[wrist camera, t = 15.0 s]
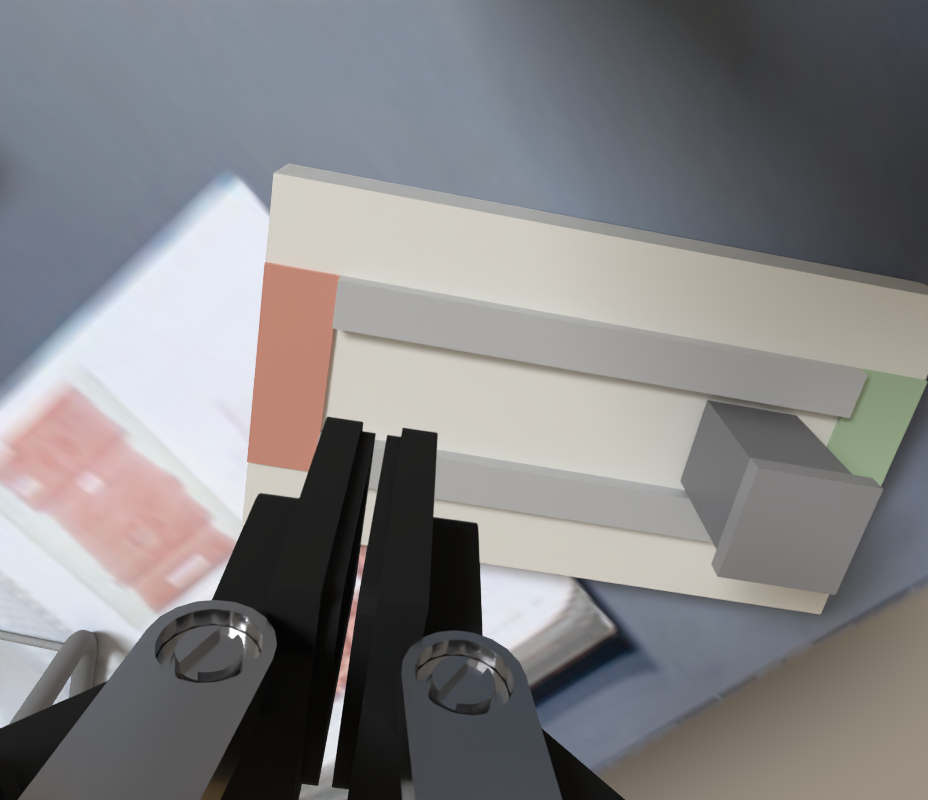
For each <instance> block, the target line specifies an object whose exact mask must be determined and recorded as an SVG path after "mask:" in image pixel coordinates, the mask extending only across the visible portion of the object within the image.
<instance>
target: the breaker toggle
mask: <svg viewBox="0 0 928 800" xmlns="http://www.w3.org/2000/svg"><path fill="white" fill-rule="evenodd" d="M680 481H681V483H682V485H683V487H684V489H685V491H686V493H687V495H688V497H689V499H690V500H691V502H692V504H693V506H694V508H695V510H696V512H697V514H698V516H699V517H700V519H701V521H702V523H703V525H704V527H705V529H706V531H707V533H708V535H709V536H710V538H711V540H712V542H713V544H714V546H715V548H716V552H715V555H714V558H713V561H712V563H711V565H712V567H713V569H714V571H715V573H716V575H717V577H722V578H728V579H735V580H741V581H748V582H754V583H761V584H767V585H774V586H780V587H787V588H793V589H799V590H806V591H812V592H819V593H825V594H832V595H836V593H837V591H838V589H839V587H840V584H841V582H842V580H843V578H844V575H845V573H846V571H847V569H848V567H849V564H850V562H851V560H852V558H853V556H854V553H855V551H856V549H857V547H858V544H859V542H860V540H861V538H862V536H863V533H864V531H865V529H866V527H867V524H868V522H869V520H870V518H871V516H872V513H873V511H874V509H875V507H876V504H877V502H878V500H879V498H880V496H881V493H882V491H883V488H882V487H881V486H880V485H879V484H878V483H877V482H876V481H875V480H874V479H873V478H870V477H864V476H858V475H853V474H852V473H851V472H850V471H849V470H848V469H847V468H846V467H845V466H844V465H843V464H842V463H841V462H840V461H839V460H838V459H837V458H836V456H835V455H834V454H833V453H832V452H831V451H830V450H829V449H828V448H827V447H826V446H825V445H824V444H823V443H822V442H821V441H820V440H819V439H818V438H817V437H816V435H815V434H814V433H813V432H812V431H811V430H810V429H809V428H808V427H807V426H806V425H805V424H804V423H803V422H802V421H801V420H800V419H799V418H798V417H797V415H792V414H786V413H780V412H774V411H768V410H763V409H757V408H751V407H745V406H739V405H734V404H728V403H722V402H716V401H710V400H707V402H706V405H705V408H704V411H703V414H702V417H701V420H700V423H699V426H698V429H697V432H696V435H695V438H694V441H693V444H692V447H691V450H690V453H689V456H688V459H687V462H686V465H685V468H684V471H683V474H682V477H681V480H680Z"/></svg>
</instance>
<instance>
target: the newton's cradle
mask: <svg viewBox="0 0 928 800" xmlns="http://www.w3.org/2000/svg"><path fill="white" fill-rule="evenodd" d="M0 639H1V640H6V641H11V642H16V643H21V644H26V645H30V646H35V647H40V648H45V649H50V650H55V651H58V653H57V654H56V656H55V657H54V659H53V660H52V662H51V663H50V665H49V666H48V668H47V669H46V671H45V672H44V674H43V675H42V677H41V678H40V680H39V681H38V683H37V684H36V686H35V687H34V689H33V690H32V691H31V693H30V694H29V696H28V697H27V699H26V700H25V702H24V703H23V705H22V706H21V708H20V709H19V711H18V712H17V714H16V715H15V717H14V718H13V720H12V721H11V723H10V724H12V723H14V722H16V721H18V720H21V719H23V718H25V717H28V716H30V715H32V714H34V713H37V712H39V711H41V710H43V709H46V708H48V707H50V706H52V704H53V703H54V701H55V700H56V698H57V696H58V695H59V693H60V692H61V690H62V688H63V687H64V685H65V684H66V682H67V680H68V679H69V677H70V676H71V674H72V676H71V685H70V694H69V698H71V697H73V696H75V695H77V694H80V693H82V692H84V691H86V690H89V689H91V688H93V681H94V673H95V664H96V656H97V641H96V637H95V635H94V634H93V633H92V632H89V631H86V630H80V631H77V632H75V633H74V634H72V635H71V636H70V637H69V638H68V639H67V640H66V642H65V643H64V644H60V643H56V642H51V641H46V640H41V639H36V638H31V637H26V636H21V635H17V634H12V633H7V632H2V631H0Z"/></svg>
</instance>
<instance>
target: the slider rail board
mask: <svg viewBox="0 0 928 800" xmlns="http://www.w3.org/2000/svg"><path fill="white" fill-rule="evenodd" d="M927 375H928V286H927V285H925V284H923V283H920V282H915V281H910V280H905V279H899V278H894V277H889V276H883V275H878V274H873V273H867V272H862V271H857V270H852V269H846V268H841V267H836V266H830V265H825V264H820V263H814V262H809V261H804V260H799V259H793V258H788V257H783V256H777V255H772V254H767V253H761V252H756V251H751V250H746V249H740V248H735V247H730V246H724V245H719V244H714V243H709V242H703V241H698V240H693V239H687V238H682V237H677V236H671V235H666V234H661V233H656V232H650V231H645V230H640V229H634V228H629V227H624V226H618V225H613V224H608V223H603V222H597V221H592V220H587V219H581V218H576V217H571V216H566V215H560V214H555V213H550V212H544V211H539V210H534V209H528V208H523V207H518V206H513V205H507V204H502V203H497V202H491V201H486V200H481V199H475V198H470V197H465V196H460V195H454V194H449V193H444V192H438V191H433V190H428V189H422V188H417V187H412V186H407V185H401V184H396V183H391V182H385V181H380V180H375V179H370V178H364V177H359V176H354V175H348V174H343V173H338V172H332V171H327V170H322V169H317V168H311V167H306V166H301V165H295V164H290V163H289V164H287V165H286V166H284V167H282V168H281V169H279V170H278V171H276V172H274V176H273V187H272V198H271V209H270V221H269V232H268V243H267V255H266V262H265V266H264V277H263V288H262V300H261V311H260V322H259V334H258V345H257V356H256V368H255V379H254V390H253V402H252V413H251V424H250V436H249V447H248V458H247V462H248V469H247V480H246V491H245V502H244V514H243V525H242V526H243V527H244V525H245V522H246V520H247V518H248V515H249V513H250V511H251V508H252V506H253V504H254V501H255V499H256V497H257V496H258V494H260V493H264V494H272V495H279V496H286V497H293V498H300V495H301V492H302V489H303V486H304V483H305V480H306V477H307V474H308V471H309V468H310V465H311V462H312V459H313V456H314V453H315V450H316V447H317V444H318V442H319V439H320V436H321V433H322V430H323V427H324V424H325V421H326V418H327V417H334V418H340V419H347V420H354V421H361V422H363V431H364V432H371V433H376V436H375V444H374V452H373V459H372V466H371V474H370V481H369V488H368V495H367V503H366V510H365V517H364V525H363V532H362V539H361V545H368V540H369V535H370V529H371V523H372V518H373V512H374V506H375V501H376V495H377V489H378V484H379V478H380V472H381V467H382V461H383V455H384V450H385V444H386V438H387V435H392V436H399V437H401V434H402V428H409V429H415V430H422V431H429V432H436V433H438V439H437V458H436V477H435V496H434V515H433V517H438V518H445V519H452V520H459V521H467V522H474V523H477V524H478V530H479V556H480V563H486V564H492V565H499V566H505V567H512V568H519V569H525V570H532V571H538V572H545V573H551V574H558V575H564V576H571V577H578V578H584V579H591V580H597V581H604V582H610V583H617V584H624V585H630V586H637V587H643V588H650V589H656V590H663V591H669V592H676V593H683V594H689V595H696V596H702V597H709V598H715V599H722V600H729V601H735V602H742V603H748V604H755V605H761V606H768V607H774V608H781V609H788V610H794V611H801V612H807V613H814V614H820V615H821V612H822V610H823V608H824V606H825V603H826V601H827V599H828V597H829V594H825V593H819V592H812V591H806V590H799V589H793V588H787V587H780V586H774V585H767V584H761V583H754V582H748V581H741V580H735V579H728V578H722V577H717V575H716V573H715V571H714V569H713V567H712V565H711V563H712V561H713V558H714V555H715V552H716V548H715V546H714V544H713V542H712V540H711V538H710V536H709V535H708V533H707V531H706V529H705V527H704V525H703V523H702V521H701V519H700V517H699V516H698V514H697V512H696V510H695V508H694V506H693V504H692V502H691V500H690V499H689V497H688V495H687V493H686V491H685V489H684V487H683V485H682V483H681V481H680V480H681V477H682V474H683V471H684V468H685V465H686V462H687V459H688V456H689V453H690V450H691V447H692V444H693V441H694V438H695V435H696V432H697V429H698V426H699V423H700V420H701V417H702V414H703V411H704V408H705V405H706V402H707V400H710V401H716V402H722V403H728V404H734V405H739V406H745V407H751V408H757V409H763V410H768V411H774V412H780V413H786V414H792V415H797V417H798V418H799V419H800V420H801V421H802V422H803V423H804V424H805V425H806V426H807V427H808V428H809V429H810V430H811V431H812V432H813V433H814V434H815V435H816V437H817V438H818V439H819V440H820V441H821V442H822V443H823V444H824V445H825V446H826V447H827V448H828V449H829V450H830V451H831V452H832V453H833V454H834V455H835V456H836V458H837V459H838V460H839V461H840V462H841V463H842V464H843V465H844V466H845V467H846V468H847V469H848V470H849V471H850V472H851V473H852V474H853V475H858V476H864V477H870V478H873V479H874V480H875V481H876V482H877V483H878V484H879V485H880V486H881V485H882V483H883V481H884V478H885V476H886V474H887V472H888V469H889V467H890V465H891V463H892V461H893V458H894V456H895V454H896V452H897V449H898V447H899V445H900V443H901V440H902V438H903V436H904V434H905V432H906V429H907V427H908V425H909V423H910V420H911V418H912V416H913V414H914V411H915V409H916V407H917V405H918V403H919V400H920V398H921V396H922V394H923V391H924V389H925V387H926V385H927V382H928V381H926V380H925V379H926V377H927Z"/></svg>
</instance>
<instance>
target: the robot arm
mask: <svg viewBox="0 0 928 800" xmlns="http://www.w3.org/2000/svg"><path fill="white" fill-rule="evenodd" d="M375 436H376V433H371V432H364V431H363V422H361V421H354V420H347V419H340V418H334V417H327V418H326V421H325V424H324V427H323V430H322V433H321V436H320V439H319V442H318V444H317V447H316V450H315V453H314V456H313V459H312V462H311V465H310V468H309V471H308V474H307V477H306V480H305V483H304V486H303V489H302V492H301V495H300V498H293V497H286V496H279V495H272V494H264V493H260V494H258V496H257V497H256V499H255V501H254V504H253V506H252V508H251V511H250V513H249V515H248V518H247V520H246V522H245V525H244V527H243V529H242V532H241V534H240V536H239V539H238V541H237V543H236V546H235V548H234V550H233V553H232V555H231V557H230V559H229V562H228V564H227V566H226V569H225V571H224V573H223V576H222V578H221V580H220V583H219V585H218V587H217V590H216V592H215V594H214V597H213V599H212V600H211V601H198V602H194V603H190V604H187V605H183V606H180V607H177V608H175V609H173V610H171V611H170V612H168V613H166V614H164V615H162V616H160V617H159V618H158V619H157V620H156V621H155V622H154V623H153V624H152V625H151V626H150V627H149V628H148V629H147V630H146V631H145V633H144V634H143V635H142V637H141V638H140V639H139V641H138V642H137V643H136V645H135V646H134V647H133V649H132V650H131V651H130V652H129V654H128V655H127V656H126V658H125V659H124V660H123V662H122V663H121V664H120V666H119V667H118V668H117V670H116V671H115V672H114V674H113V675H112V676H111V677H110V679H109V680H108V681H107V682H105V683H102V684H100V685H98V686H96V687H93V688H91V689H89V690H86V691H84V692H82V693H80V694H77V695H75V696H73V697H71V698H68V699H66V700H64V701H62V702H59V703H57V704H55V705H52V706H50V707H48V708H46V709H43V710H41V711H39V712H37V713H34V714H32V715H30V716H28V717H25V718H23V719H21V720H18V721H16V722H14V723H12V724H9V725H7V726H5V727H3V728H0V800H299V795H300V790H301V785H302V784H307V785H316V786H318V783H319V778H320V773H321V768H322V762H323V757H324V752H325V746H326V741H327V736H328V730H329V725H330V719H331V714H332V709H333V703H334V698H335V692H336V687H337V682H338V676H339V671H340V665H341V660H342V655H343V649H344V644H345V639H346V633H347V628H348V622H349V617H350V612H351V606H352V601H353V595H354V589H355V583H356V576H357V569H358V561H359V554H360V547H361V539H362V532H363V525H364V517H365V510H366V503H367V495H368V488H369V481H370V474H371V466H372V459H373V452H374V444H375ZM437 439H438V433H436V432H429V431H422V430H415V429H409V428H402V434H401V437H399V436H392V435H387V438H386V444H385V450H384V455H383V461H382V467H381V472H380V478H379V484H378V489H377V495H376V501H375V506H374V512H373V518H372V523H371V529H370V535H369V540H368V546H367V552H366V557H365V563H364V569H363V574H362V580H361V586H360V592H359V598H358V605H357V611H356V618H355V625H354V632H353V640H352V647H351V654H350V661H349V668H348V675H347V682H346V689H345V697H344V704H343V711H342V718H341V725H340V732H339V739H338V747H337V754H336V761H335V768H334V775H333V782H332V787H334V788H343V789H349V792H348V799H347V800H625V799H623V798H622V797H621V796H620V795H619V794H618V793H616V792H615V791H614V790H613V789H612V788H611V787H609V786H608V785H607V784H606V783H605V782H604V781H602V780H601V779H600V778H599V777H598V776H597V775H595V774H594V773H593V772H592V771H591V770H590V769H588V768H587V767H586V766H585V765H584V764H583V763H581V762H580V761H579V760H578V759H577V758H576V757H574V756H573V755H572V754H571V753H570V752H569V751H567V750H566V749H565V748H564V747H563V746H562V745H560V744H559V743H558V742H557V741H556V740H555V739H553V738H552V737H551V736H550V735H549V734H548V733H546V732H545V731H544V730H543V729H542V728H541V725H540V722H539V718H538V715H537V712H536V708H535V705H534V701H533V698H532V695H531V691H530V688H529V684H528V681H527V678H526V675H525V673H524V671H523V669H522V667H521V665H520V663H519V661H518V660H517V659H516V658H515V657H514V656H513V655H512V654H511V653H510V652H509V651H508V649H506V648H505V647H503V646H502V645H500V644H498V643H497V642H495V641H494V640H492V639H490V638H487V637H484V636H483V635H482V609H481V582H480V556H479V530H478V524H477V523H474V522H467V521H459V520H452V519H445V518H438V517H433V515H434V496H435V477H436V458H437Z"/></svg>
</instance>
